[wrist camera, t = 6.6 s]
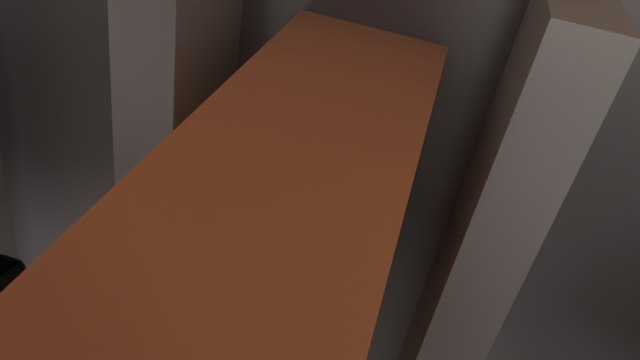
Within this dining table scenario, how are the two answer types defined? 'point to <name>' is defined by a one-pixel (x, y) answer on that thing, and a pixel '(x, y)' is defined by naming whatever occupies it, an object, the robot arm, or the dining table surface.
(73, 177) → the rack
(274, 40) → the brown flat rectangular slab
